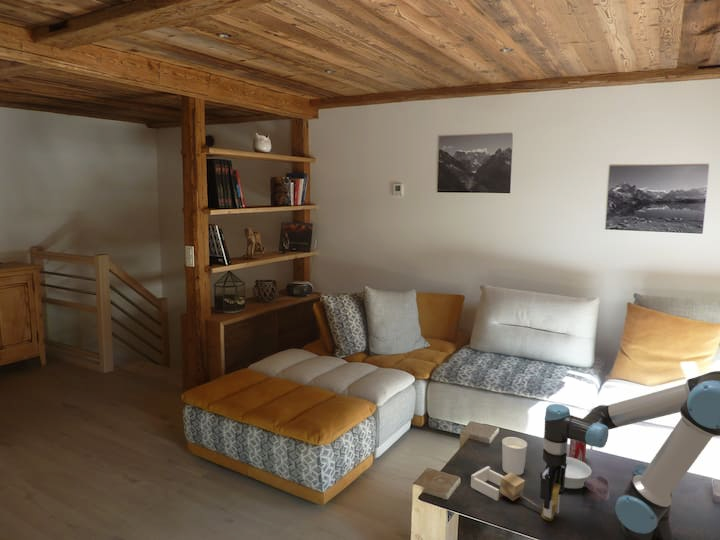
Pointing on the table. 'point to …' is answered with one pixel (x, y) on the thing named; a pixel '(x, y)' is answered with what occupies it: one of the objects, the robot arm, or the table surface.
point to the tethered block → (514, 489)
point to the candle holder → (513, 455)
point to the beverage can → (577, 450)
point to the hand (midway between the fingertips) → (551, 513)
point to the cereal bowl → (576, 473)
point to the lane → (481, 486)
